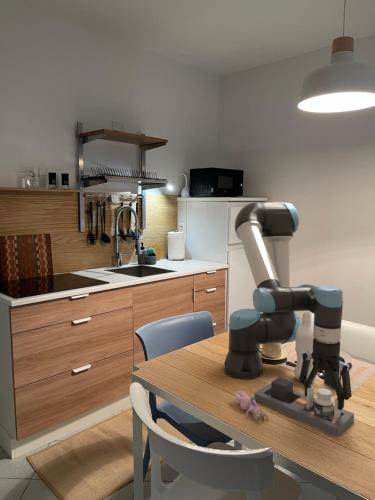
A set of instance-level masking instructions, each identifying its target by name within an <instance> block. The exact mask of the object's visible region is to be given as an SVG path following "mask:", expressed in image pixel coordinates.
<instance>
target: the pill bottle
mask: <svg viewBox="0 0 375 500" xmlns="http://www.w3.org/2000/svg"><path fill="white" fill-rule="evenodd" d="M332 395H333V393H332V391H331V390H329V389H328V388H322V387H321V388H318V389H317V392H316V396H315V397H314V398H315V402H314V409H313V414H314V415H316V416H318V417H321V418H323V419H326V420H328V421H330V422H333V419H334V417H333V406H334V399H332V398H333V397H332Z"/></svg>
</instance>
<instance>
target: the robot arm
mask: <svg viewBox="0 0 375 500" xmlns="http://www.w3.org/2000/svg"><path fill="white" fill-rule="evenodd" d="M299 226H300V217H299V212H298V210H297V208H296V207H295V206H294V204H292V203H290V202H285V201H284V202H283V201H274V202H272V201H271V202H270V201H269V202H266V201H265V202H263V201H262V202H258V201H257V202H256V201H255V202H251V203H248V204H246V205H244V206H243V207H242V208H241V209H240V210H239V211H238V213H237V215H236V217H235V221H234V232H235V234H236V237H237V238H238V240H240V241H241V244H242V247H243V251H244V254H245V257H246V259H247V263H248V265H249V268H250V272H251V275H252V279H253V280H254V285H255V286H256V288H255V289H254V291H253V292H252V301H253V302H252V305H253V308H241V309H237V310H235V311H233V312H232V313H230V315H229V321H228V352H227V353H226V357H225V360H224V362H223V371H224V373H225V374H227V375H228V376H229V377H232V378H234V379H235V378H236V379H240V380H241V379H242V380H250V379H251V380H252V379H257V378H259V377H261V376H263V374H264V370H265V369H264V364H263V361H262V357H261V354H260V345H269V344H270V345H271V344H286V343H287V344H288V343H293V342H296V331H297V329H298V328H299V326H300V325H301V320H300V315H299V314H298V313H297V312H310V313H311V314H313V328H314V331H313V337H314V339H313V352H312V353H310V352H309V351H307V352H305V353H303V354H302V356H303V364H302V368H301V373H300V378H299V380H298V382H299V384H302V385H303V386H304V394H305V396H306V397H307V408H306V409H310V408H311V407H313V398H315V397H314V394H315V391H314V390H315V386H314V385H313V384H314V380H315V378H316V377H317V375H318V373H319V371H326V372H328V373H329V376H330V377H331V379H332V382H333V385H334V388H335V389H334V388H333V389H334V391H335V394H336V397H335V398H334V403H333V406H334V417H333V421H334V422H336V421H337V420H338V419H339V418H340V413H341V410H342V409H344V408H345V401H348V400H349V399H350V398H351V397H352V395H353V393H352V384H351V377H350V375H351V374H350V369H351V364H350V363H349V362H345V363H343V362H341V360H340V357H339V356H340V353H341V339H342V336H341V335H342V320H343V319H342V317H343V307H344V306H343V304H344V301H343V299H344V297H343V296H344V295H343V294H344V292H343V290H342V289H341V288H340V287H339V286H334V285H325V284H324V285H318V286H315V285H313V284H308V283H302V284H299V285H298V286H292V287H291V286H290V284H291V283H290V241H291V240H292V239H293V238H294V233H296V232H298V229H299ZM311 358H312V359H313V362H314V364H313V368H312V371H311V373H310V375H309V376H308V378H307V374H308V370H309V365H310V359H311ZM337 366H340V370H341V371H342V372H341V381H340V378H339V375H338V369H337ZM306 379H307V380H306Z"/></svg>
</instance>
